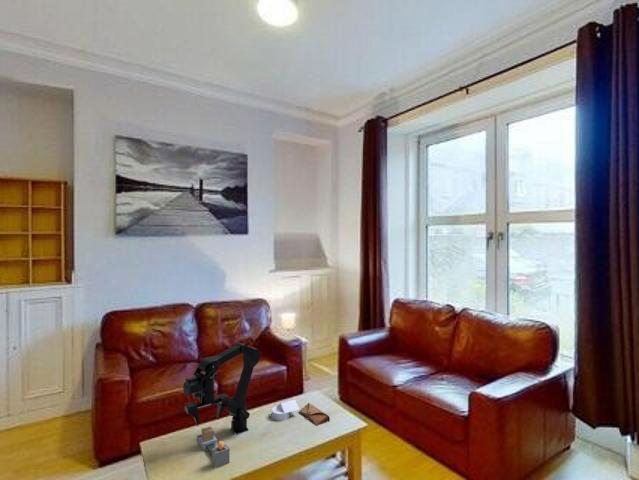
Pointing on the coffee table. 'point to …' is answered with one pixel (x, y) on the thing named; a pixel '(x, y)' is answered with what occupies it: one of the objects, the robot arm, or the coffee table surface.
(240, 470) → the coffee table surface
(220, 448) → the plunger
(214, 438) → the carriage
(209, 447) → the rail
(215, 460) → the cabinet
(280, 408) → the wedge on round base
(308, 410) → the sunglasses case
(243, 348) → the robot arm
